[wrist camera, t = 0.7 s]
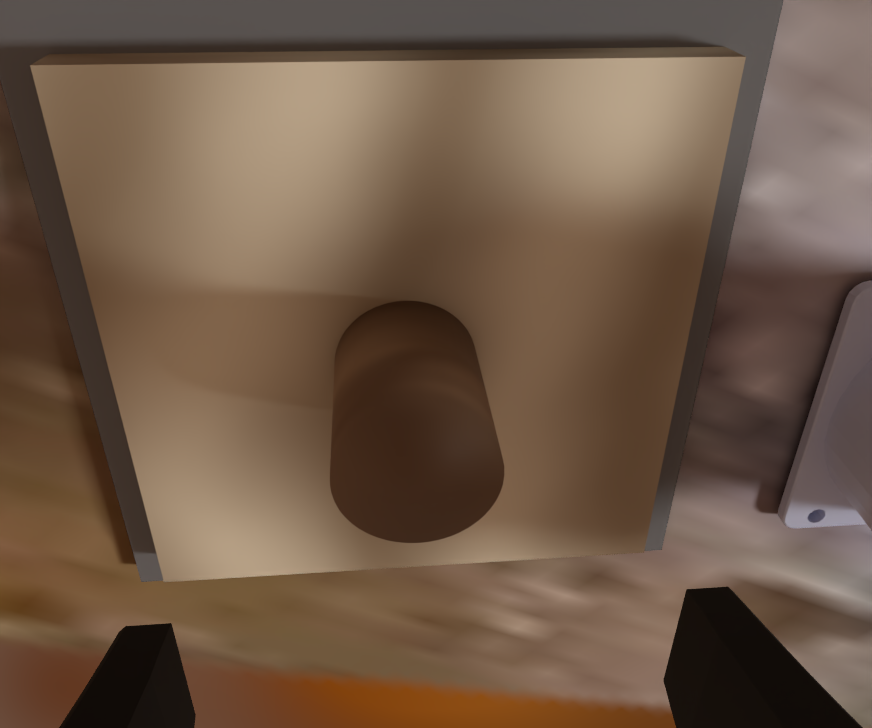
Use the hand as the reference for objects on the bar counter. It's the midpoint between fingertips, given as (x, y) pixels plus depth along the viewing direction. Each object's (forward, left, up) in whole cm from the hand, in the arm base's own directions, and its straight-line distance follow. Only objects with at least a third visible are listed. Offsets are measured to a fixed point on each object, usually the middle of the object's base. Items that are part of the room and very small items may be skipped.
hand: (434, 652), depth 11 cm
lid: (0, 0, -9) cm, 9 cm away
